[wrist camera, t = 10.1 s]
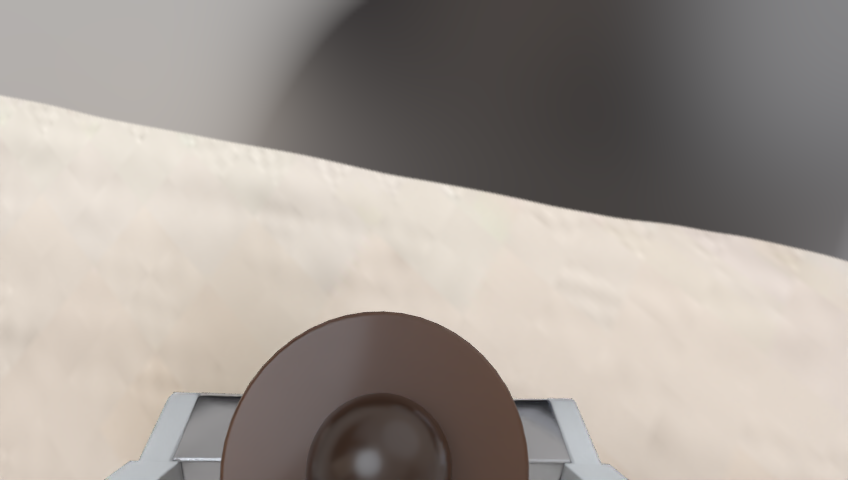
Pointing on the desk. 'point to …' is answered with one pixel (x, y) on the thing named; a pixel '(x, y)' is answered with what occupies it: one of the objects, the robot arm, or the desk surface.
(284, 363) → the lid
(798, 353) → the desk surface
